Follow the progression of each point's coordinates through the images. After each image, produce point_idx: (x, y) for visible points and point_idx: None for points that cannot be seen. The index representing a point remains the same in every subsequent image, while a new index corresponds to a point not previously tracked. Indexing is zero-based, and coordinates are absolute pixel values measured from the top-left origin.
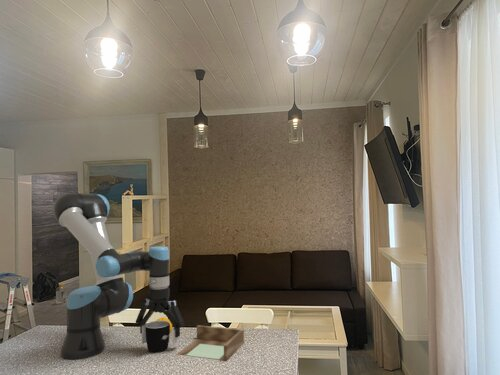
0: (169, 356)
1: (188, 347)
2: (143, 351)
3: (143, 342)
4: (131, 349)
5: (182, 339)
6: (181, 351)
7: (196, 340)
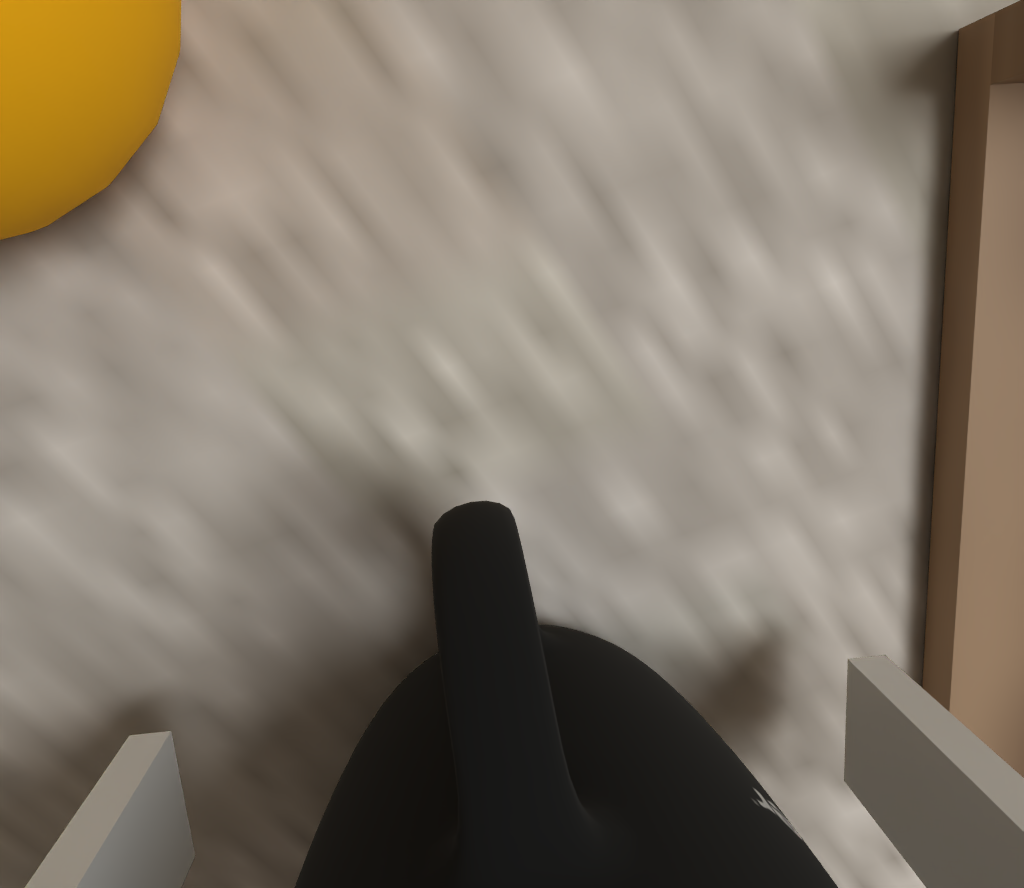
0: (804, 812)
1: (1016, 542)
2: (282, 823)
3: (186, 868)
4: (15, 838)
5: (604, 89)
6: (973, 717)
7: (1019, 174)
